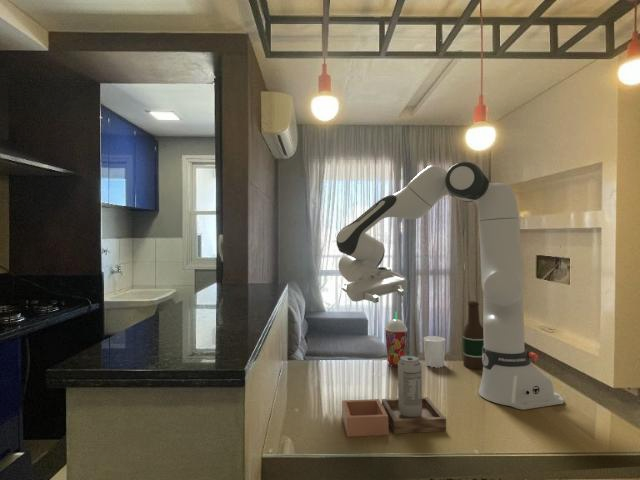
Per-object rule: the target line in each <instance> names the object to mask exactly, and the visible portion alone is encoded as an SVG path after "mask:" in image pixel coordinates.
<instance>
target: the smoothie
mask: <svg viewBox="0 0 640 480" xmlns="http://www.w3.org/2000/svg"><path fill="white" fill-rule="evenodd" d="M384 330H385V343H386V355H387V357H386V358H387V362H388V365H389V364H390V366H391V365H392V366H391V367H394V366H398V362H399V361H400V357H401V356H405V355H407V343H408V328H407V326H406V324H405V323H404V321H403V320H402V319H398V312H397V311H394V318H393V319H391V320H390V321H388V323H387V324H386V326H385V328H384Z"/></svg>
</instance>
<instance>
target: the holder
mask: <svg viewBox="0 0 640 480" xmlns="http://www.w3.org/2000/svg"><path fill="white" fill-rule="evenodd" d="M341 408H342V409H341V414H342V415H341V416H342V417H341V419H342V423H343V426H344V429H345V430H344V431H345V433H346V436H347V438H349V437H350V438H351V437H367V436H368V437H369V436H388V435H389V423H388V415H387V413H386V411H385V409H384V407H383V406H382V401H381V400H380V399H379V398H374V399H372V398H371V399H369V398H368V399H350V400H349V399H347V400H343V399H342V400H341Z"/></svg>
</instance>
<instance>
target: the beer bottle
mask: <svg viewBox="0 0 640 480" xmlns="http://www.w3.org/2000/svg"><path fill="white" fill-rule="evenodd" d="M467 305H468V317H467V323H466V324H465V325H464V327H463V330H462V356H463V357H462V359H463V360H462V361H463V366H464V367H466V368H467V369H471V370H483V363H482V347H483V346H484V336H483V325H482V324H481V322H480V313H479V305H480V304H479V302H478V301H476V300H475V301H473V300H472V301H468V303H467Z"/></svg>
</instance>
